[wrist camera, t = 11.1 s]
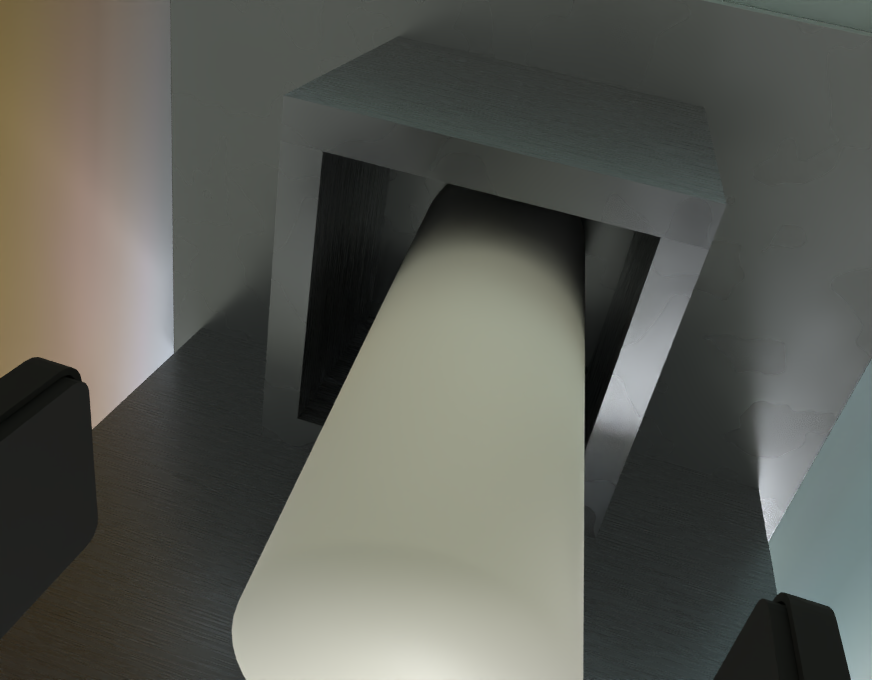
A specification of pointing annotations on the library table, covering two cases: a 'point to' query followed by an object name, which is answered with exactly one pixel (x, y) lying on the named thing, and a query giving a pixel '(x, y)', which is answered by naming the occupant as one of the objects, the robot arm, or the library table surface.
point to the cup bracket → (387, 247)
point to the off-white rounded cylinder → (443, 472)
